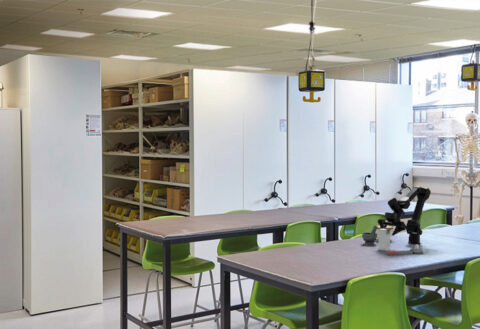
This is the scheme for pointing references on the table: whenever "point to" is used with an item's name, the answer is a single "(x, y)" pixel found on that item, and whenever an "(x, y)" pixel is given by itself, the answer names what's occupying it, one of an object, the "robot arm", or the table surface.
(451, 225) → the table surface
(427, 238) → the table surface
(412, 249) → the ratchet
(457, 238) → the table surface
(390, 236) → the lidded bowl
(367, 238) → the mortar and pestle
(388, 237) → the socket
